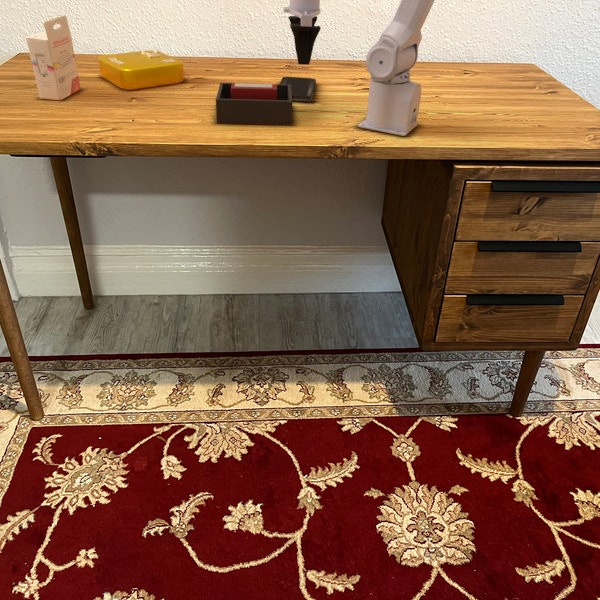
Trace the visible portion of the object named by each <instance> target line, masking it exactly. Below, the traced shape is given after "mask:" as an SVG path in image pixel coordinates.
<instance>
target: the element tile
mask: <svg viewBox="0 0 600 600" xmlns="http://www.w3.org/2000/svg"><path fill="white" fill-rule="evenodd" d="M98 65H99V66H98V67H99V72H100V73H99V74H100V77H101V78H102V79H105V80H106V81H108V82H110V83H111V84H113V85H115V86H117V87H118V88H120V89H122V90H124V91H125V90H126V91H135V90H141V89H148V88H155V87H161V86H169V85H176V84H181V83H183V82H184V81H185V77H184V76H185V74H184V63H183V61H182V60H180V59H177V58H175V57H173V56H170V55H168V54H166V53H163V52H162V51H159V50H157V49H145V50H140V51H130V52H121V53H111V54H103V55H99V56H98Z"/></svg>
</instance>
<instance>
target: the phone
mask: <svg viewBox="0 0 600 600" xmlns="http://www.w3.org/2000/svg"><path fill="white" fill-rule="evenodd" d="M279 84H289V85H291V93H292V102H303V103H310V102H312V101H313V97H314V93H315V90H316V86H317V79H316V78H312V77H299V76H297V77H296V76H282V78H281V80H280V82H279Z"/></svg>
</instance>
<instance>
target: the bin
mask: <svg viewBox="0 0 600 600" xmlns="http://www.w3.org/2000/svg"><path fill="white" fill-rule="evenodd" d="M232 83H234V84H235V83H236V82H220V83H219V85H218V86H219V87H218V90H217V93H216V98H215V112H216V113H215V115H216V124H221V125H222V124H223V125H225V124H226V125H227V124H228V125H263V126H264V125H266V126H267V125H268V126H292V124H293V123H292V122H293V101H292V93H291V85H289V84H280V83H271V84H272V85H277V100H250V99H231V85H232ZM244 83H245V84H255V83H253V82H252V83H248V82H244Z"/></svg>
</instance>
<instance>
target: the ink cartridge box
mask: <svg viewBox="0 0 600 600" xmlns="http://www.w3.org/2000/svg"><path fill="white" fill-rule="evenodd" d="M56 24H57V25H60V26H59V27H56V28H54V26H56ZM43 27H44V30H45V31H42V32H39V33H36V34H33V35H30V36H27V37H25V40H26V43H27V47H28V51H29V57H30V61H31V66H32V70H33V74H34V79H35V83H36V87H37V92H38V96H39V99H44V100H52V101H62V100H65V98H67V97H69V96H71V95H73V94H74V93H77V92H78V91H80V90H81V85H80V77H79V72H78V66H77V62H76V57H75V56H76V55H75V50H74V44H73V39H72V33H71V29H70V25H69V22H68V18H67V16H66V14H64V15H61V16H57V17H55V18H51V19H49V20H46V21H43Z"/></svg>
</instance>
